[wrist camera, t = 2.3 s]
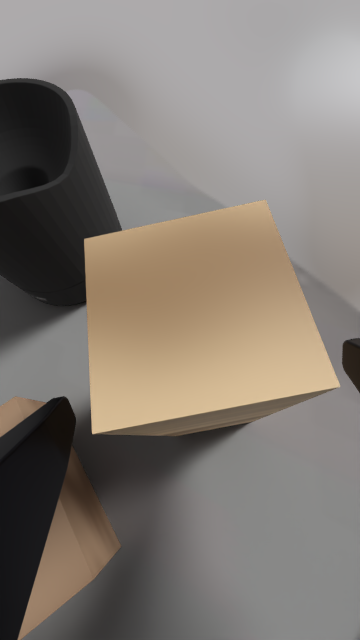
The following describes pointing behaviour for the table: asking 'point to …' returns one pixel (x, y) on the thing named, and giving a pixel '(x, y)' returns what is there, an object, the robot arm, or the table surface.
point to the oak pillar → (198, 325)
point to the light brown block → (65, 533)
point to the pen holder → (47, 192)
